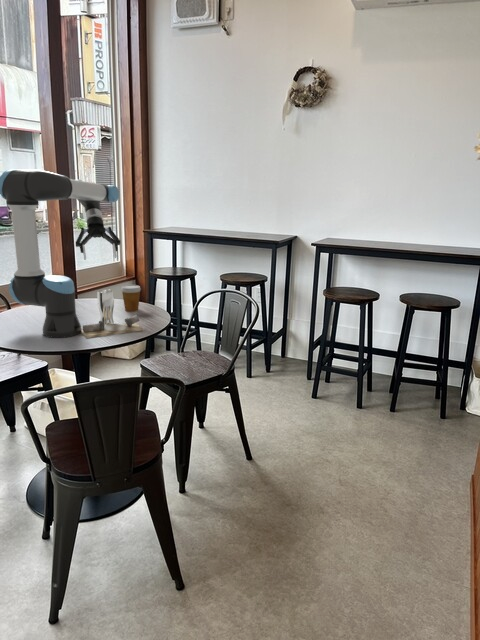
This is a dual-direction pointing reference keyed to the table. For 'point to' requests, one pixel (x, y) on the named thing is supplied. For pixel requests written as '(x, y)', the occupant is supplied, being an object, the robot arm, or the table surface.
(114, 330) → the shaft cradle
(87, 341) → the table surface
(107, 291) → the beer glass
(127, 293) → the disposable coffee cup
